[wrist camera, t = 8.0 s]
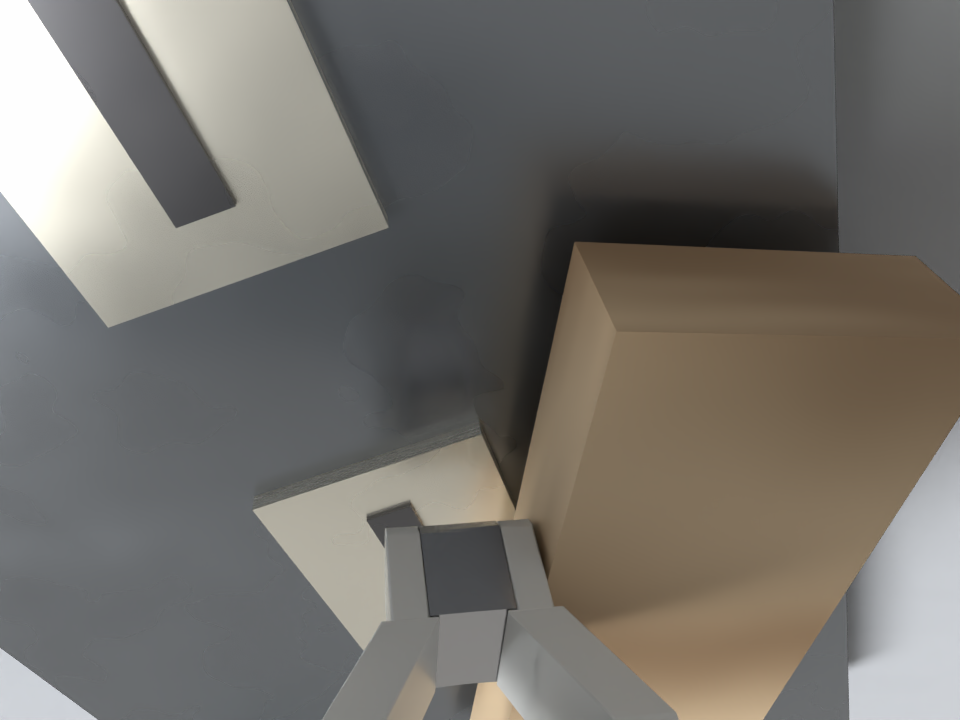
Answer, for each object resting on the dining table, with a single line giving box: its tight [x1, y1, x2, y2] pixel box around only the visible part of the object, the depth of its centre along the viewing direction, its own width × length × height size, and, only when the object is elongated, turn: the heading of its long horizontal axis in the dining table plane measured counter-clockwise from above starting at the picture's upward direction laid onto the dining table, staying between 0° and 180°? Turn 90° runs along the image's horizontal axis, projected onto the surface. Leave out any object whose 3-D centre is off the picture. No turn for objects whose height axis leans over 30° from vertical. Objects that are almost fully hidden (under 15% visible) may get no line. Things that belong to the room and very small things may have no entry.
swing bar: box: [470, 242, 960, 720], centre depth 15 cm, size 17×5×2 cm, turn 173°
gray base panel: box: [0, 0, 849, 720], centre depth 14 cm, size 28×16×2 cm, turn 18°
